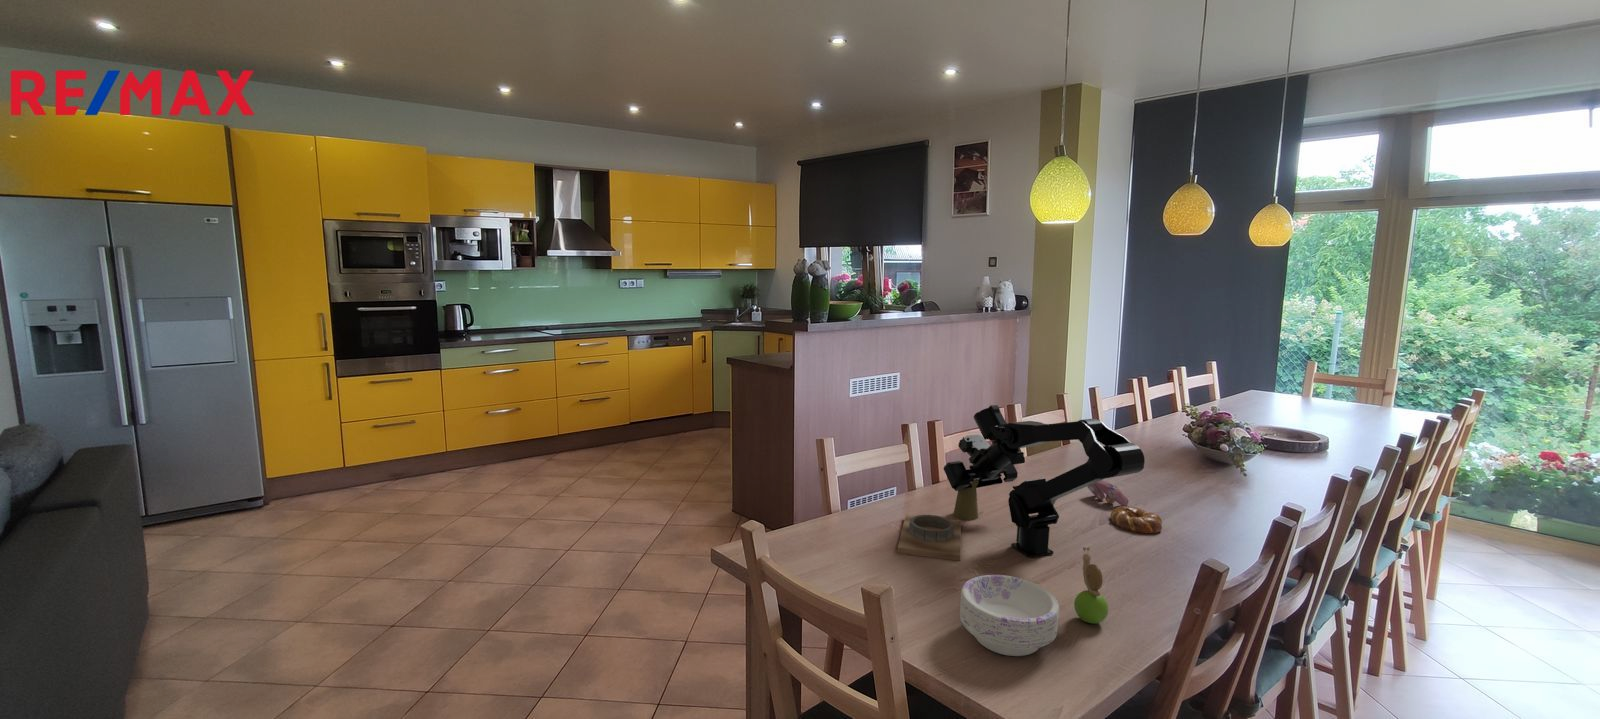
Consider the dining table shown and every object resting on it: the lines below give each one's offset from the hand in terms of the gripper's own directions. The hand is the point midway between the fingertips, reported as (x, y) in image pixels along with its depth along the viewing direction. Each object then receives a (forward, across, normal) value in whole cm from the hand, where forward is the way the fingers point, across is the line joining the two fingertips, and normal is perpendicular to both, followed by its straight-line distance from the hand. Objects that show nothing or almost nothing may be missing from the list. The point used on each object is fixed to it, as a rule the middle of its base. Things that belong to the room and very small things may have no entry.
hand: (963, 488), depth 164 cm
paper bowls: (-30, +30, +40) cm, 58 cm away
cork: (+4, 0, +6) cm, 7 cm away
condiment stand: (-2, +17, +12) cm, 21 cm away
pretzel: (-10, -35, +20) cm, 42 cm away
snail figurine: (-30, +12, +40) cm, 51 cm away
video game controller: (0, -42, +10) cm, 44 cm away
